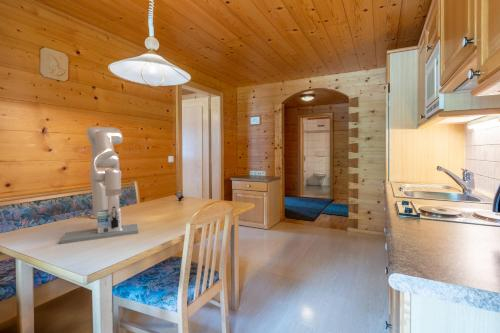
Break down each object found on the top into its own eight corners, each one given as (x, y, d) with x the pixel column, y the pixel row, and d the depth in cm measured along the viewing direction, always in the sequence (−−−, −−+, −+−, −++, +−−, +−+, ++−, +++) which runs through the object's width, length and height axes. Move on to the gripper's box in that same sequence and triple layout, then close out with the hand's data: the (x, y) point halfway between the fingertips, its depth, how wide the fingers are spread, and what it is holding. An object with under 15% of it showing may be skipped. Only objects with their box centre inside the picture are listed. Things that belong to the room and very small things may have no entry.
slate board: (65, 235, 136) (65, 232, 136) (136, 226, 151) (136, 223, 151) (60, 244, 124) (59, 240, 124) (138, 233, 139) (138, 230, 139)
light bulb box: (97, 233, 134) (96, 212, 133) (99, 230, 140) (98, 210, 139) (121, 230, 138) (120, 210, 138) (121, 227, 144) (120, 207, 144)
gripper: (106, 190, 145) (108, 222, 146) (104, 195, 129) (106, 231, 131) (121, 189, 148) (123, 220, 149) (121, 194, 133) (122, 228, 134)
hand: (115, 225), depth 140 cm, fingers open, 6 cm apart
